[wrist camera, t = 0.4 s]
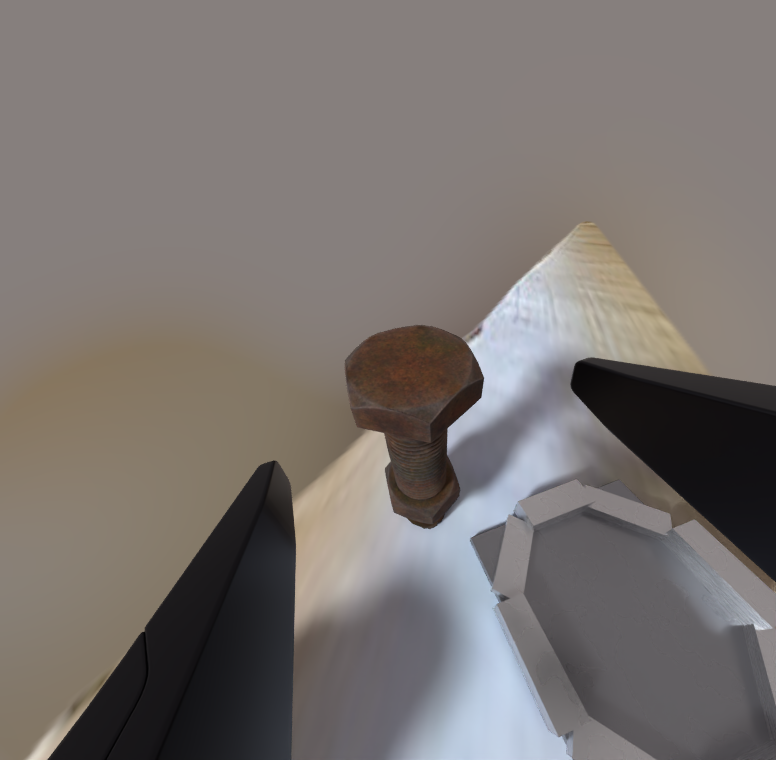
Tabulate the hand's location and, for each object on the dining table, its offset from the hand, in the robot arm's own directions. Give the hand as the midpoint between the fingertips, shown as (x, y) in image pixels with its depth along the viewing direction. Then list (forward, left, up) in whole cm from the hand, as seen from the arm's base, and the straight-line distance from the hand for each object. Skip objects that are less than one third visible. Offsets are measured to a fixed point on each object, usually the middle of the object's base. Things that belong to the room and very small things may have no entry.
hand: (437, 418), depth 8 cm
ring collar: (-6, -9, -16) cm, 19 cm away
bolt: (+3, 0, -16) cm, 16 cm away
